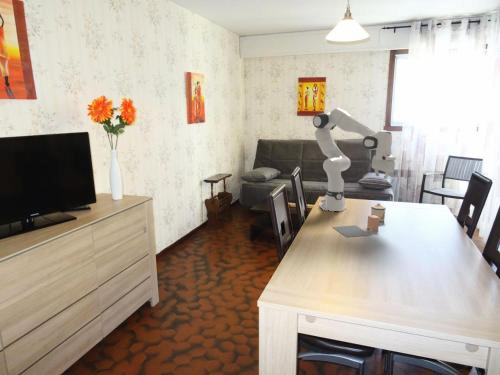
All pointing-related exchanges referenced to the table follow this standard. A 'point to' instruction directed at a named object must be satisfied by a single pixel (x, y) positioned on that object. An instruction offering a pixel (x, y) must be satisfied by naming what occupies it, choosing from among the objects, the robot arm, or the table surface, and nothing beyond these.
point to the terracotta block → (373, 222)
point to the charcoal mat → (351, 231)
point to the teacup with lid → (378, 211)
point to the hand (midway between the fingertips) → (381, 177)
